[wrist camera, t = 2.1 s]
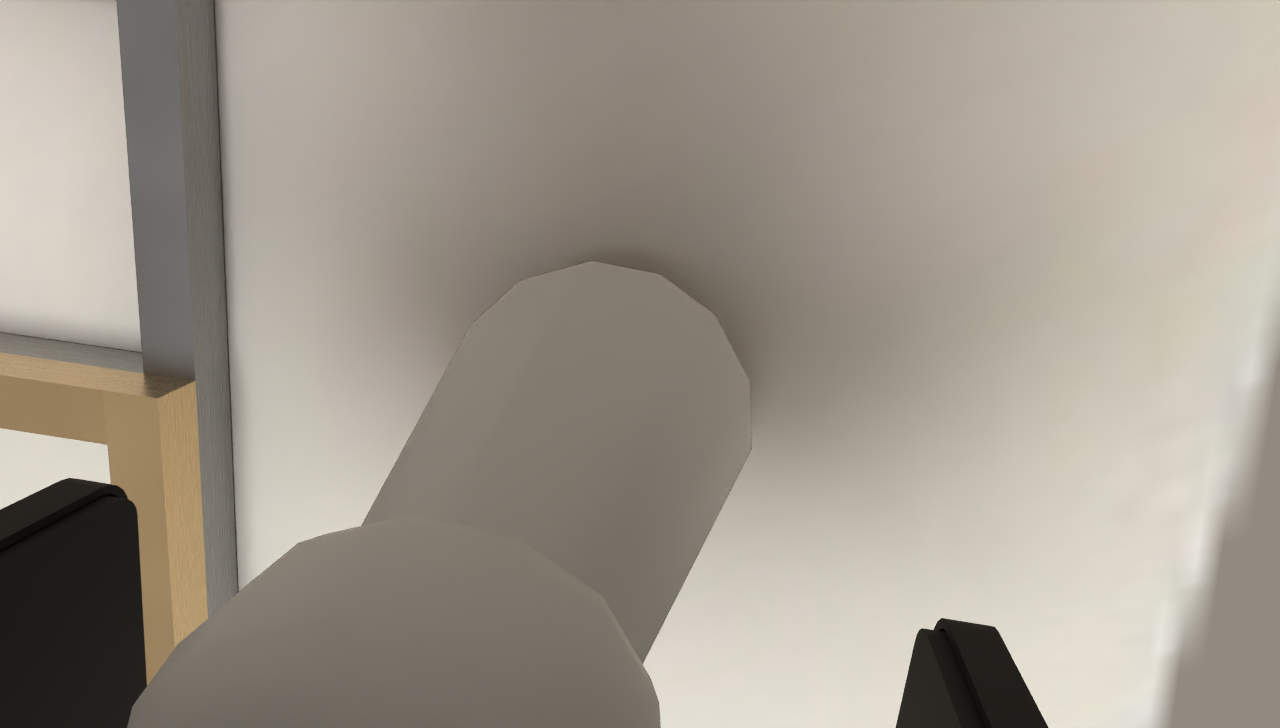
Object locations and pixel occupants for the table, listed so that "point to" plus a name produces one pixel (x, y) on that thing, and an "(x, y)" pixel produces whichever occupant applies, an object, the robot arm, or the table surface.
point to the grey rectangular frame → (175, 245)
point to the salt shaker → (499, 533)
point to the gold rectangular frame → (131, 472)
